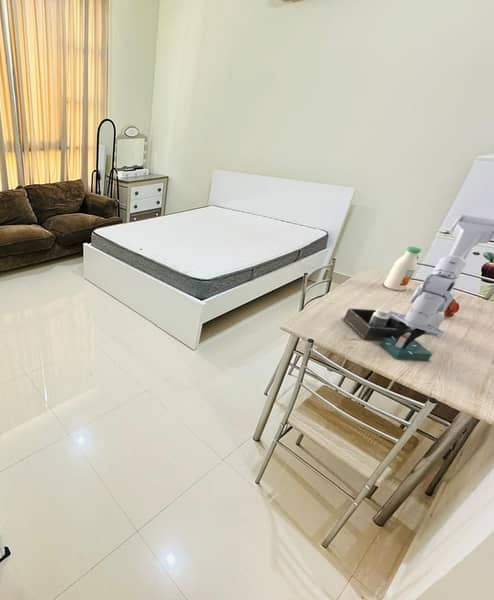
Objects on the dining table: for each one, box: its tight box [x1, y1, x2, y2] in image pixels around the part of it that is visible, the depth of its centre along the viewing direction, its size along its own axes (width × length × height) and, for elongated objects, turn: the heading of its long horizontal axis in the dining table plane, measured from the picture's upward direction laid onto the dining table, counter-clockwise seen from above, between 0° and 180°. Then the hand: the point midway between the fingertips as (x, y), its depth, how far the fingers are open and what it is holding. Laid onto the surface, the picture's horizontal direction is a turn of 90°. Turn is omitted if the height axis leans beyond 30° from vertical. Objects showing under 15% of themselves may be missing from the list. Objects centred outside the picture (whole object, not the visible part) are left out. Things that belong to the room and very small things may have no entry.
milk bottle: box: [383, 246, 422, 292], centre depth 149 cm, size 8×8×20 cm
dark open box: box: [343, 307, 413, 342], centre depth 121 cm, size 15×14×5 cm
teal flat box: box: [380, 336, 433, 362], centre depth 110 cm, size 12×10×3 cm
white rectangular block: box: [395, 332, 411, 349], centre depth 109 cm, size 6×2×4 cm, turn 119°
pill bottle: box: [368, 306, 391, 328], centre depth 120 cm, size 5×5×8 cm
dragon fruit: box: [444, 298, 460, 318], centre depth 131 cm, size 8×8×12 cm
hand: (401, 343), depth 110 cm, fingers closed on white rectangular block, 2 cm apart
